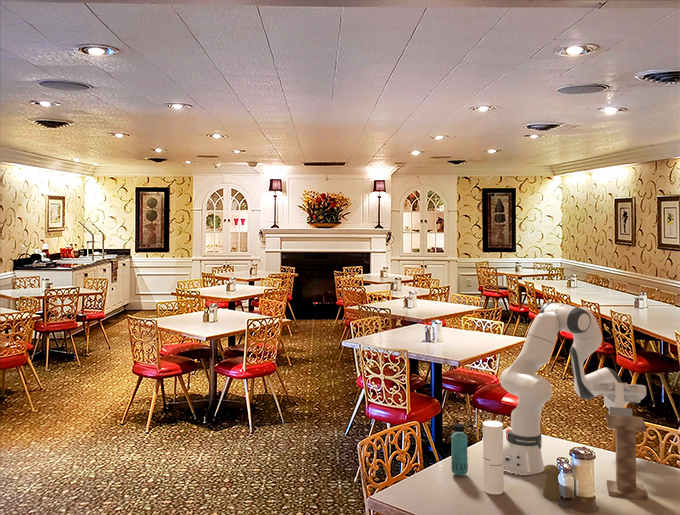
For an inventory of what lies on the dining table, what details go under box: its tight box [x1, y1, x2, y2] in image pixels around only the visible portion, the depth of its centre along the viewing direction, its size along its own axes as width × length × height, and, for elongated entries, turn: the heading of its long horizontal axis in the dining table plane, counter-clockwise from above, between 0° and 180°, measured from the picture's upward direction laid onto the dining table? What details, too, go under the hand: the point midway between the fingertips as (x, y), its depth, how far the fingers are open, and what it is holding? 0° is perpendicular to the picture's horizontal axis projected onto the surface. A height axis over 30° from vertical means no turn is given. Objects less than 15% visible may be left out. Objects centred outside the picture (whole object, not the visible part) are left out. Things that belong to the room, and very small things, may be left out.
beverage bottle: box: [450, 423, 469, 476], centre depth 223 cm, size 6×7×20 cm
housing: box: [608, 382, 633, 431], centre depth 223 cm, size 8×18×3 cm
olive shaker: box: [542, 464, 562, 501], centre depth 203 cm, size 6×6×11 cm
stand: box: [605, 413, 648, 501], centre depth 205 cm, size 12×12×26 cm
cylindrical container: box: [482, 420, 505, 492], centre depth 208 cm, size 7×7×25 cm
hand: (619, 384), depth 225 cm, fingers closed on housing, 3 cm apart
